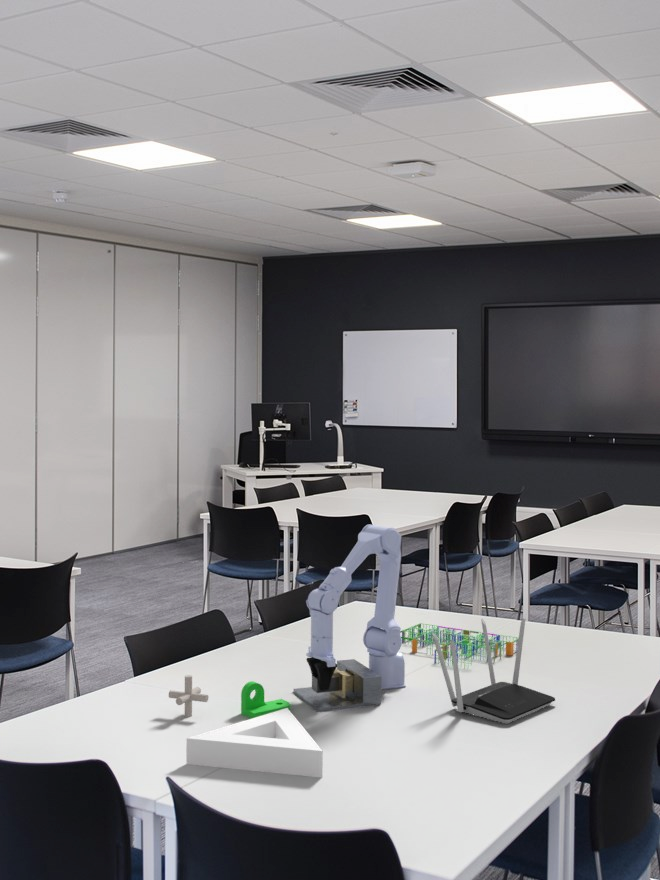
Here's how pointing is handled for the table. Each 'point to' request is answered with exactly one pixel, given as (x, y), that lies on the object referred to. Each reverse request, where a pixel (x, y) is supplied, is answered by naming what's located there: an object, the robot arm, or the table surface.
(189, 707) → the pipe connector
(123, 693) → the table surface
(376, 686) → the block
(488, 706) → the wireless router
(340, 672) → the grey and tan block
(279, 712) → the triangle block
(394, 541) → the robot arm
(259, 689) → the mechanical part
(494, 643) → the piping system model
